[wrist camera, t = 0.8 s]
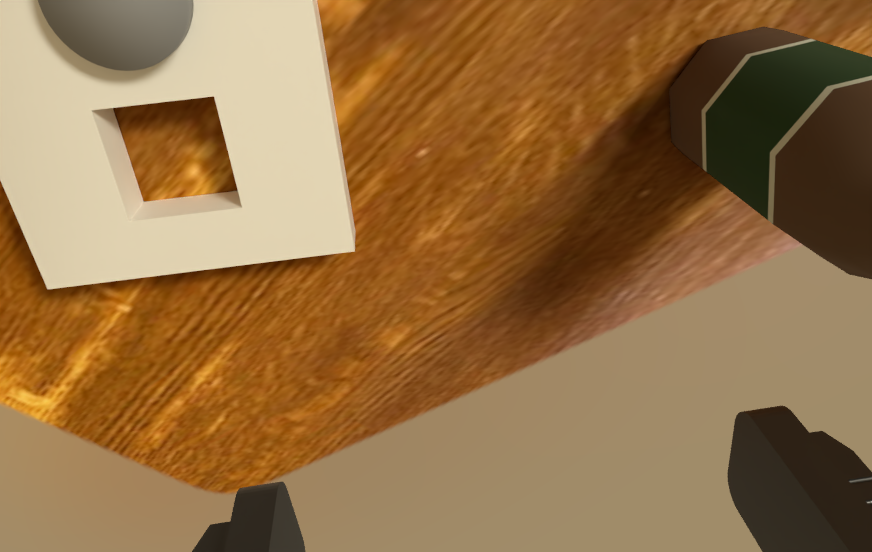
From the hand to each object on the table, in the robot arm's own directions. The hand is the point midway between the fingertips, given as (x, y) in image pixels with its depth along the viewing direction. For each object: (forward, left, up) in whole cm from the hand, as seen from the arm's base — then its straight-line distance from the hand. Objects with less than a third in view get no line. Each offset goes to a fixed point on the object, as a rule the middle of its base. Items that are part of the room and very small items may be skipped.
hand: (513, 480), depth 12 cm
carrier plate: (-2, -12, -26) cm, 29 cm away
